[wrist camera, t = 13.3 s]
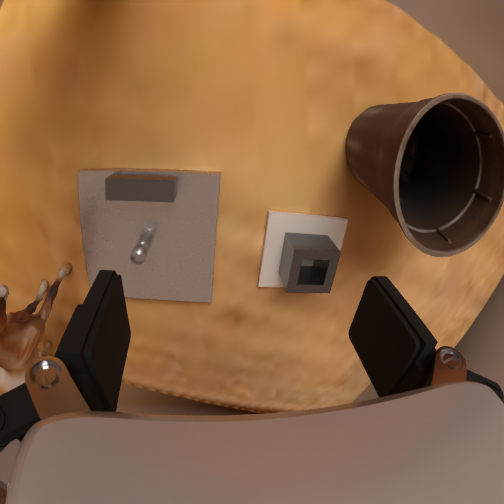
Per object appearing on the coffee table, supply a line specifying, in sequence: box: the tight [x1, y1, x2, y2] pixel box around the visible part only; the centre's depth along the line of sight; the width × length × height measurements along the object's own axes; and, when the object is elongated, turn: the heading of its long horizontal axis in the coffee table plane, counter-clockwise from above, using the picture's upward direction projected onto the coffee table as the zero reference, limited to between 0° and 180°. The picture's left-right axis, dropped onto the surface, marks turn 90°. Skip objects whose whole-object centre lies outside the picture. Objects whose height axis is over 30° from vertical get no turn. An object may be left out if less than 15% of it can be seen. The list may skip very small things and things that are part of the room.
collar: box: [278, 232, 341, 293], centre depth 39 cm, size 6×6×5 cm
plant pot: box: [346, 93, 504, 257], centre depth 29 cm, size 16×16×16 cm
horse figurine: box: [0, 263, 72, 394], centre depth 33 cm, size 31×8×21 cm, turn 144°
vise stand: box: [77, 168, 221, 302], centre depth 36 cm, size 18×18×6 cm
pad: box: [258, 211, 348, 287], centre depth 42 cm, size 11×11×1 cm
